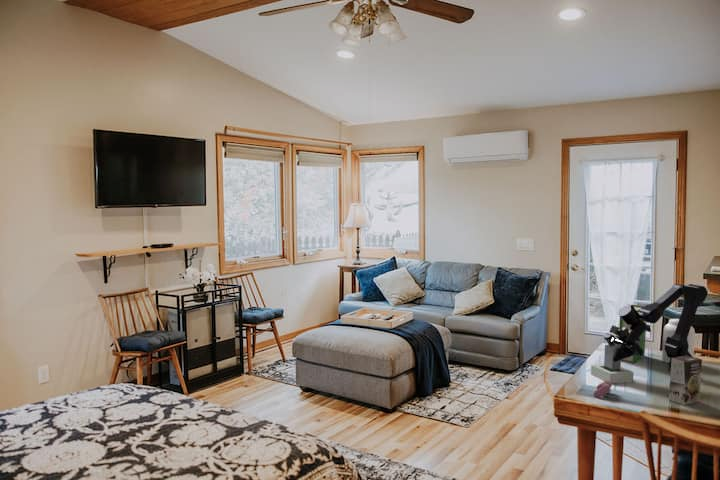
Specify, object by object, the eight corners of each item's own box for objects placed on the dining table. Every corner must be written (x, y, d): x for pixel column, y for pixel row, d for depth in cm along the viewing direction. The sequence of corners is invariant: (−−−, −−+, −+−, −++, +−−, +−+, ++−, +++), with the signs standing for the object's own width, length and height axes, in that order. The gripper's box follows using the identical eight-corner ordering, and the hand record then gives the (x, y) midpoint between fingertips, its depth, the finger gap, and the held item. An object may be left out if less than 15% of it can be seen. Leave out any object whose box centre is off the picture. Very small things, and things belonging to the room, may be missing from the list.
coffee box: (685, 405, 199) (687, 362, 198) (668, 400, 205) (670, 357, 204) (700, 401, 204) (703, 359, 202) (683, 396, 209) (685, 354, 208)
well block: (613, 372, 237) (613, 363, 237) (633, 381, 226) (633, 372, 225) (590, 374, 235) (591, 365, 234) (609, 383, 223) (610, 373, 223)
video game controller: (603, 402, 205) (613, 388, 203) (591, 395, 207) (601, 380, 205) (606, 395, 214) (616, 380, 212) (595, 388, 216) (605, 373, 214)
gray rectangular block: (613, 372, 233) (614, 344, 232) (621, 376, 228) (623, 347, 227) (603, 373, 232) (604, 345, 231) (611, 376, 227) (613, 348, 226)
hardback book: (634, 363, 252) (637, 311, 250) (617, 360, 256) (620, 309, 255) (644, 355, 265) (647, 306, 263) (627, 353, 270) (630, 304, 268)
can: (660, 363, 253) (662, 320, 251) (663, 357, 263) (665, 315, 262) (692, 368, 246) (694, 324, 244) (694, 361, 256) (696, 319, 255)
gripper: (607, 314, 238) (584, 340, 237) (638, 324, 220) (613, 352, 218) (622, 331, 241) (599, 357, 239) (654, 342, 223) (629, 370, 221)
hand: (609, 359), depth 229 cm, fingers closed on gray rectangular block, 5 cm apart
